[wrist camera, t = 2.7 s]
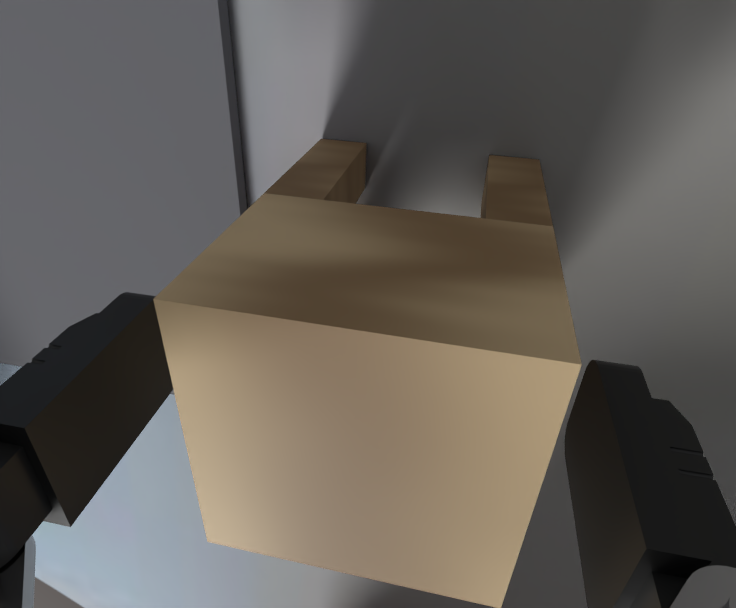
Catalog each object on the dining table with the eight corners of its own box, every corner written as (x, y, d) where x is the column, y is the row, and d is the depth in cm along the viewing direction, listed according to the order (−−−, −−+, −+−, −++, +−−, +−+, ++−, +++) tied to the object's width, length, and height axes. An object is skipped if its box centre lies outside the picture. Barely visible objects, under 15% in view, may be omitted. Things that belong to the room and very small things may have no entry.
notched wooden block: (539, 159, 13) (581, 364, 6) (500, 340, 16) (500, 608, 9) (321, 138, 14) (153, 298, 7) (323, 314, 17) (207, 541, 10)
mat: (221, -65, 12) (210, -66, 11) (265, 400, 19) (260, 410, 19) (-276, -82, 14) (-299, -83, 13) (-59, 342, 21) (-70, 349, 21)
